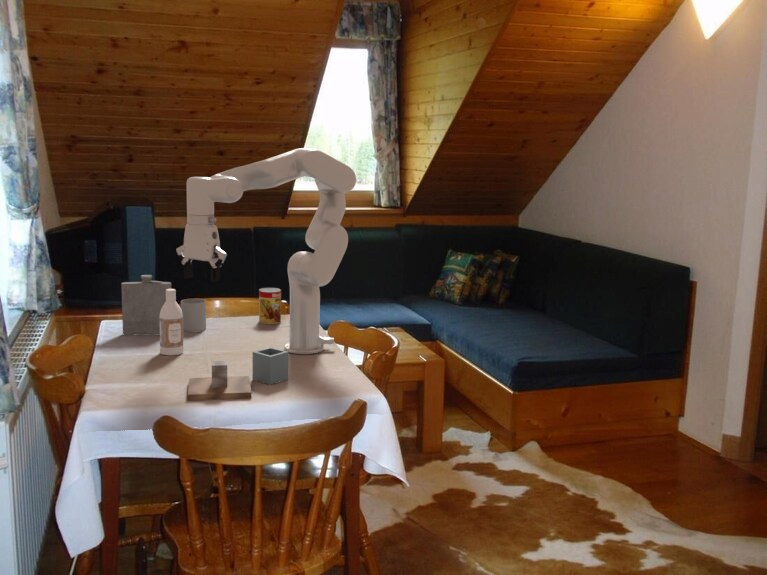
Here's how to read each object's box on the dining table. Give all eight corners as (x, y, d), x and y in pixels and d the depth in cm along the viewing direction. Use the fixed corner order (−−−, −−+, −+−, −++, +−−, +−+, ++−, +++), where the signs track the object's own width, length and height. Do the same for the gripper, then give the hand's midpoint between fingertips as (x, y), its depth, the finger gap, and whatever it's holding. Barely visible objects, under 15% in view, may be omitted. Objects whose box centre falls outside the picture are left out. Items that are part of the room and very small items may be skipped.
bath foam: (164, 357, 231) (162, 292, 228) (157, 351, 237) (155, 288, 233) (186, 354, 235) (185, 290, 231) (179, 349, 241) (178, 286, 237)
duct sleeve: (270, 374, 218) (270, 347, 217) (288, 379, 214) (288, 351, 213) (252, 379, 213) (252, 351, 211) (270, 385, 209) (270, 356, 207)
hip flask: (122, 335, 255) (120, 276, 251) (123, 332, 258) (122, 274, 255) (171, 334, 258) (170, 276, 254) (172, 331, 262) (171, 274, 258)
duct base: (248, 381, 211) (248, 355, 210) (251, 397, 198) (251, 370, 196) (189, 383, 208) (188, 356, 206) (187, 400, 194) (187, 372, 193)
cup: (211, 328, 267) (210, 301, 266) (193, 333, 261) (193, 304, 259) (193, 325, 272) (193, 297, 270) (176, 329, 265) (175, 301, 263)
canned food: (279, 324, 277) (279, 292, 275) (257, 323, 277) (257, 291, 275) (282, 319, 285) (282, 288, 282) (261, 318, 285) (261, 287, 282)
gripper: (233, 221, 218) (234, 280, 221) (185, 217, 225) (186, 274, 228) (217, 223, 211) (217, 284, 214) (168, 219, 218) (169, 278, 222)
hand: (201, 279), depth 221 cm, fingers open, 9 cm apart
